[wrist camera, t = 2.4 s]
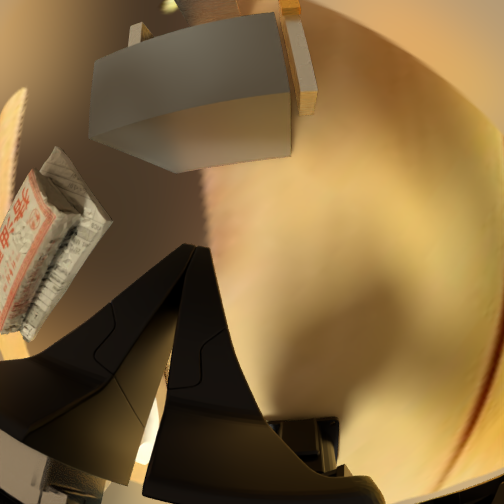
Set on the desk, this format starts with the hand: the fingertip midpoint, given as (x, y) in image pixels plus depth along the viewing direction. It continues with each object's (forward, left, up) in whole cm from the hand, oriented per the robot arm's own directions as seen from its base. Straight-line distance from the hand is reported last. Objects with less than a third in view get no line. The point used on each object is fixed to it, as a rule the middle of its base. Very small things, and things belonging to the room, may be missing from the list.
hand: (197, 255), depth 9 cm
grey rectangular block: (+7, 0, -11) cm, 13 cm away
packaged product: (+1, +20, -12) cm, 23 cm away
